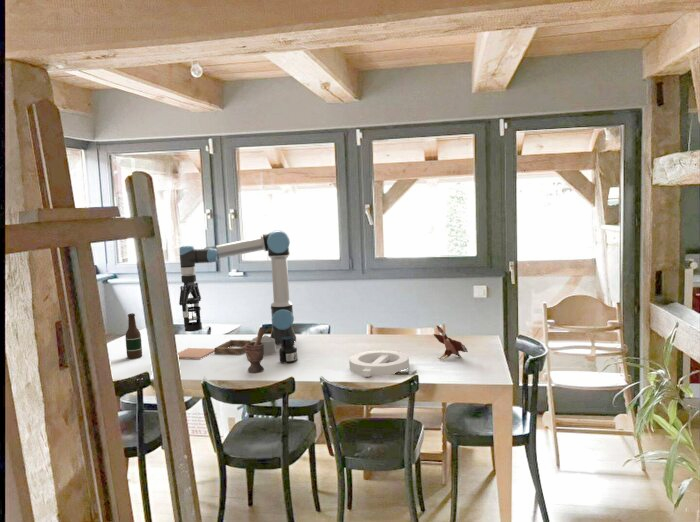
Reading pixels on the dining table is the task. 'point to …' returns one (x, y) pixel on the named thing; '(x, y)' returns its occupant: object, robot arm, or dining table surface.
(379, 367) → the white circle with bar
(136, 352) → the beer bottle
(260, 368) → the mortar and pestle
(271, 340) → the lumpy-topped squat cylinder
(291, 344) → the ink bottle
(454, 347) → the decorative bird
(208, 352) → the terracotta pad
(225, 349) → the brown wooden tray
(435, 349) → the dining table surface
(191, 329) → the french press
